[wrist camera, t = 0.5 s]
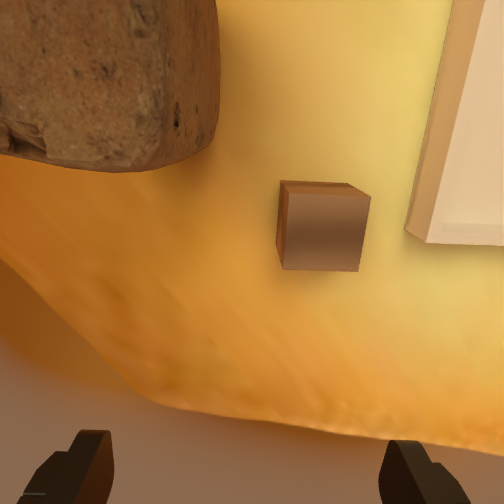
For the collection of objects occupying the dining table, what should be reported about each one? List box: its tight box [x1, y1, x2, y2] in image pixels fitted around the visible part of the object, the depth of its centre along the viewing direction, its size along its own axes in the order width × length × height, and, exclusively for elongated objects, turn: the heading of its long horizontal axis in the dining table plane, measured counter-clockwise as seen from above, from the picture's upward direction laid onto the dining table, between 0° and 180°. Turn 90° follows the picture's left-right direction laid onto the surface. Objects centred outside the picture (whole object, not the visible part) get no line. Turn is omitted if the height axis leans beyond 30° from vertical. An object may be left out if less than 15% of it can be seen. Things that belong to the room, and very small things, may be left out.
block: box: [0, 0, 220, 173], centre depth 17 cm, size 11×8×20 cm
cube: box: [276, 180, 371, 272], centre depth 28 cm, size 6×6×6 cm
